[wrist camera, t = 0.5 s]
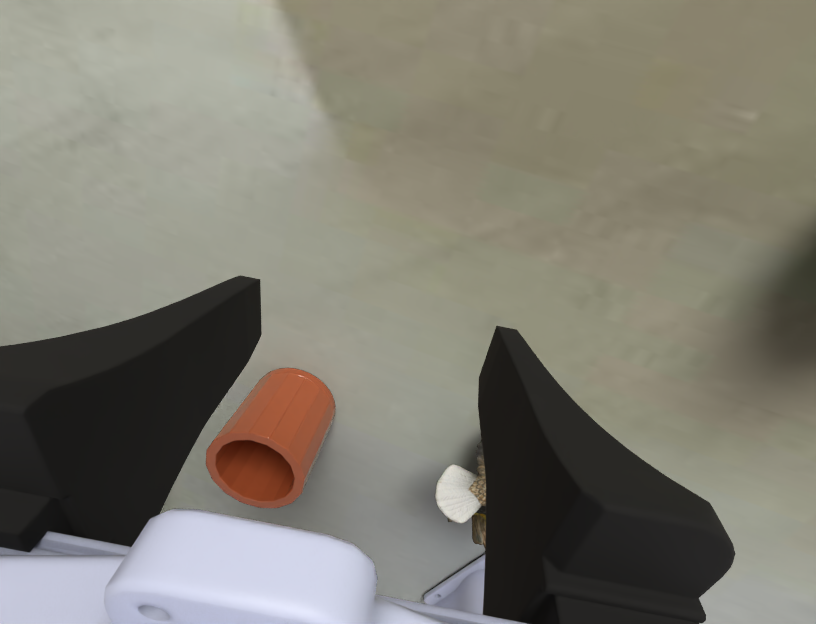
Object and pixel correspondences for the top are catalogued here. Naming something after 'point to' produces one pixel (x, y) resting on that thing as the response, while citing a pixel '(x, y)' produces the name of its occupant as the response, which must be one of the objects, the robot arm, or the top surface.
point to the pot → (272, 439)
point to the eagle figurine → (465, 496)
